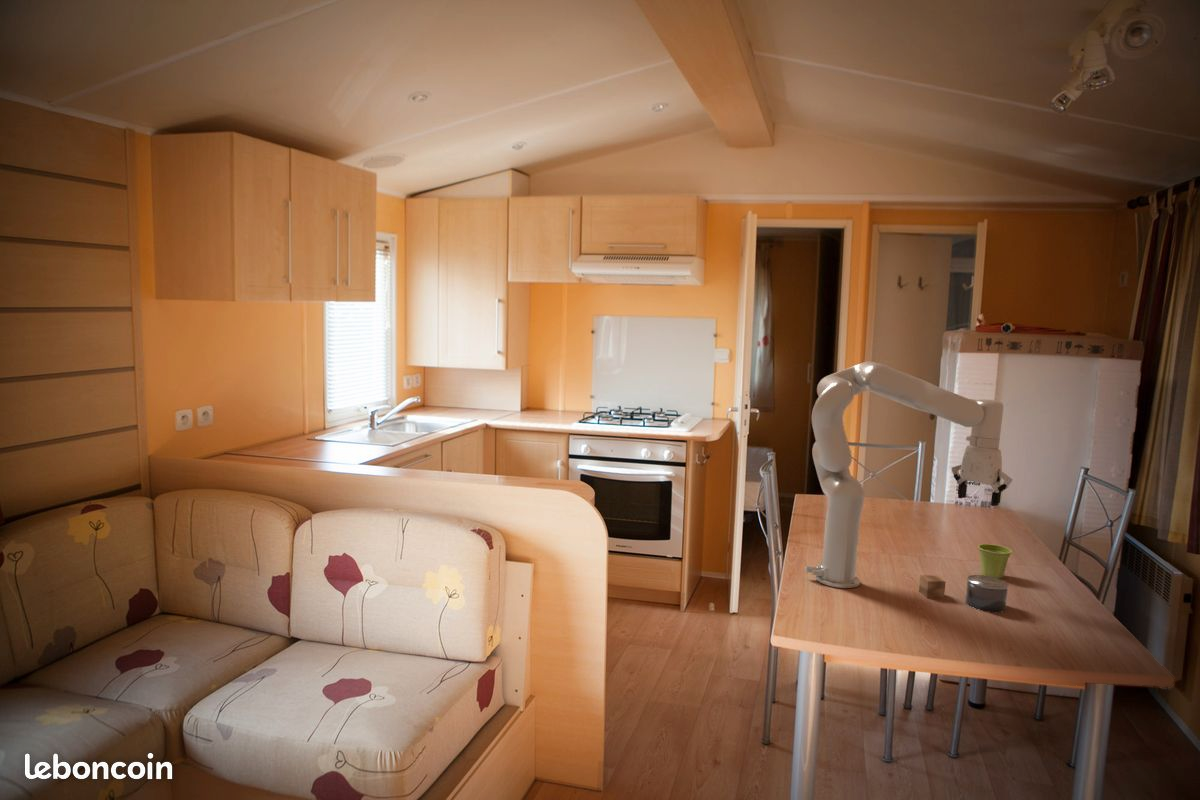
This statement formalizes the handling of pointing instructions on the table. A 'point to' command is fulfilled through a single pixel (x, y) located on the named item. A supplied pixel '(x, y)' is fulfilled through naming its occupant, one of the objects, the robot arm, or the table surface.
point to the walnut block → (932, 586)
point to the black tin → (986, 593)
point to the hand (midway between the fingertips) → (978, 501)
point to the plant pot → (993, 559)
